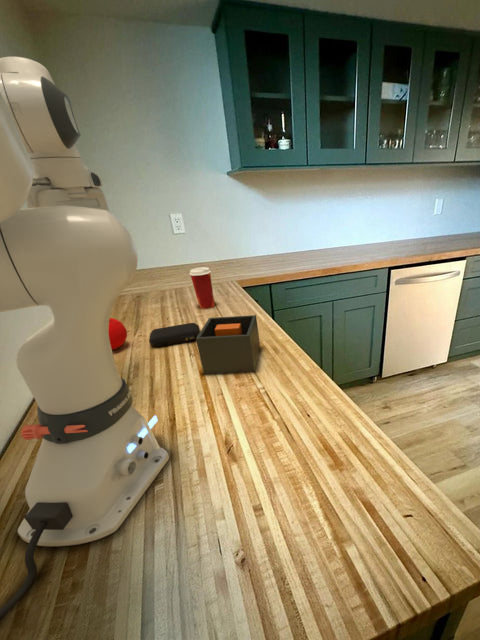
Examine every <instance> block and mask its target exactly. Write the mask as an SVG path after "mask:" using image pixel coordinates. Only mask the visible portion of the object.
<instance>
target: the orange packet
mask: <svg viewBox="0 0 480 640" xmlns="http://www.w3.org/2000/svg"><path fill="white" fill-rule="evenodd" d="M215 335H216V336H230V335H242V329H241V323H238V324H221V325H217V326H216V328H215Z"/></svg>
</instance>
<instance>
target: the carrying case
mask: <svg viewBox="0 0 480 640" xmlns="http://www.w3.org/2000/svg"><path fill="white" fill-rule="evenodd" d="M200 331H201V329H200V326H199V325H198V324H197V323H195V322H188V323H182V324H177V325H176V324H175V325H171V326H170V325H169V326H165V327H159V328H154V329H152V330H151V332H150V333H149V340H148V342H149V344H150V345H151V346H153V347H162V346H167V345H173V344H179V343H185V342H189V341H194V340H195V341H196V337H197V336H198V334H199V333H200Z"/></svg>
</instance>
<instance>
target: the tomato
mask: <svg viewBox="0 0 480 640" xmlns="http://www.w3.org/2000/svg"><path fill="white" fill-rule="evenodd" d="M127 338H128V330H127V329H126V327H125V325H124V324H123V322H121V321H120V320H119V319H116V318H113V317H110V319H109V339H110V344H111V348H112V351H114V350H116V349H119V348H120V347H121V346H123V344H125V342H126V341H127Z"/></svg>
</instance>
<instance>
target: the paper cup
mask: <svg viewBox="0 0 480 640" xmlns="http://www.w3.org/2000/svg"><path fill="white" fill-rule="evenodd" d="M211 272H212V271H211V269H210V268H209V267H207V266H202V267H201V266H200V267H195V268H192V269H190V270H189V276H190V277H191V282H192V285H193V289H194V292H195V296H196V300H197V303H198V306H199V308H200V309H203V310H205V309H212V308H214V307H215V300H214V299H215V298H214V290H213V284H212V276H211Z"/></svg>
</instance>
